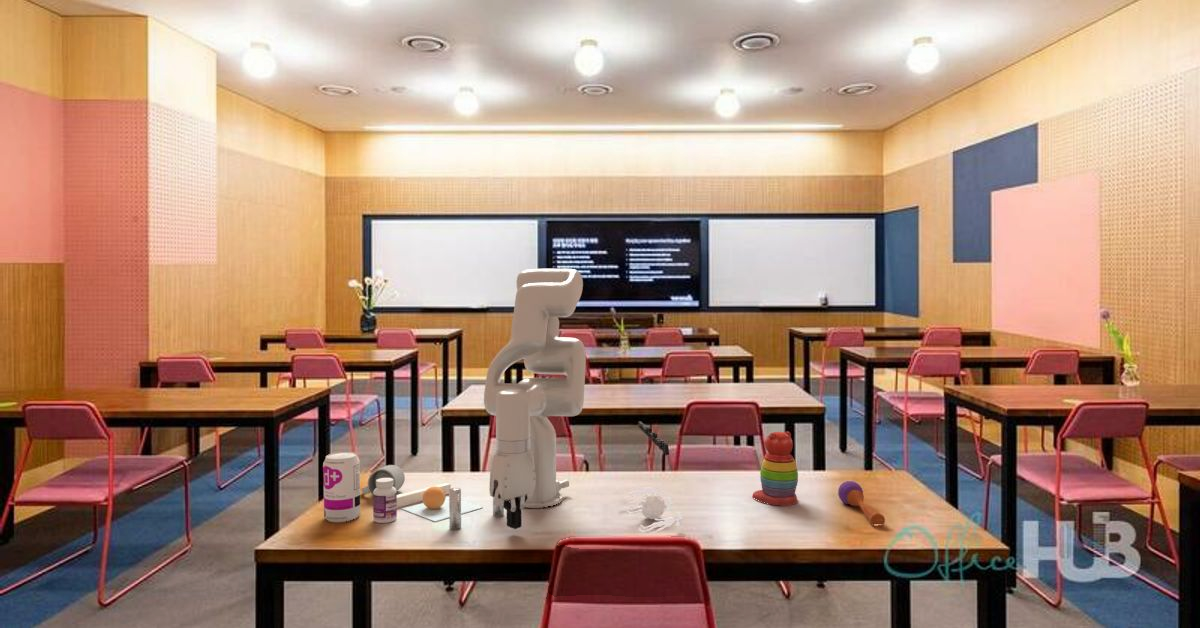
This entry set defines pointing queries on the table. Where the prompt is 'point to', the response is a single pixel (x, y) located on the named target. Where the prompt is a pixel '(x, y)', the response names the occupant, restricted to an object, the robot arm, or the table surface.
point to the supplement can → (341, 486)
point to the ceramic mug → (385, 472)
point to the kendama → (858, 501)
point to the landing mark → (439, 510)
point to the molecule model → (651, 502)
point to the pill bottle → (384, 501)
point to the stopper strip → (418, 495)
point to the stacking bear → (778, 471)
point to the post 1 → (455, 508)
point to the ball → (434, 497)
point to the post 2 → (498, 510)
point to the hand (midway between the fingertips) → (514, 526)
